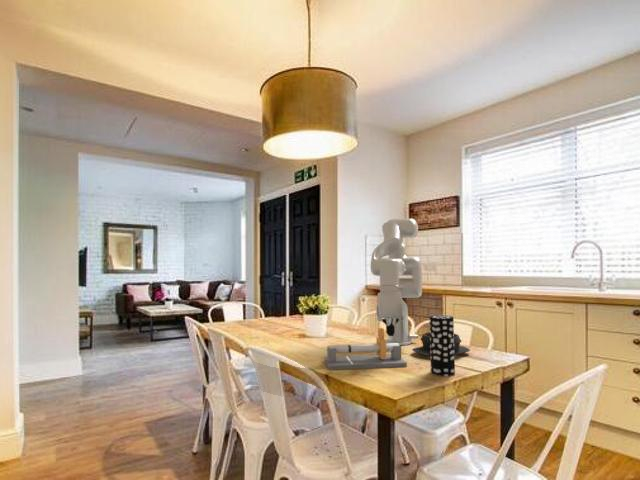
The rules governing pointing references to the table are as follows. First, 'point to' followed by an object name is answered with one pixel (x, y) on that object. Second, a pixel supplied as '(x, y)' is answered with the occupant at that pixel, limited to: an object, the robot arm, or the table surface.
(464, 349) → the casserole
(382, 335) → the collar
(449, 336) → the white-spotted black cylinder
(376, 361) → the pipe rig
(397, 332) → the robot arm
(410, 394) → the table surface
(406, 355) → the table surface
